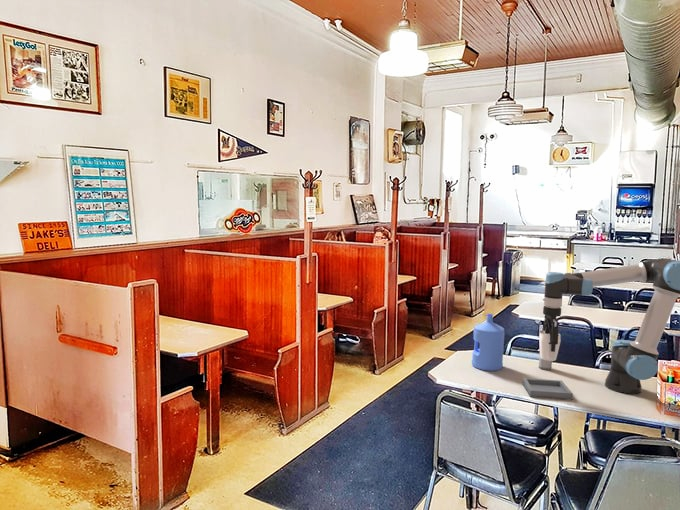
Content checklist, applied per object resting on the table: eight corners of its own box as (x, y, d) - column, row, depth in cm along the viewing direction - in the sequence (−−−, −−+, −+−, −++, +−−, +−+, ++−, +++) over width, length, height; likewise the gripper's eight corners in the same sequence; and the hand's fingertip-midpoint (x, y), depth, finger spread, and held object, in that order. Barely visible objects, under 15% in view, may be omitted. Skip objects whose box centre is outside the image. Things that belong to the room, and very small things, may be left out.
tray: (561, 386, 239) (561, 380, 239) (572, 399, 224) (572, 393, 223) (522, 383, 242) (522, 377, 241) (530, 396, 226) (530, 390, 226)
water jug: (505, 365, 269) (509, 313, 265) (497, 373, 255) (501, 319, 252) (476, 359, 277) (479, 309, 274) (467, 367, 264) (470, 315, 260)
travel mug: (536, 366, 268) (538, 329, 266) (548, 366, 268) (551, 329, 266) (540, 370, 262) (543, 332, 260) (553, 370, 262) (556, 333, 260)
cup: (555, 356, 235) (557, 331, 234) (561, 362, 226) (563, 336, 225) (535, 355, 236) (537, 330, 234) (541, 361, 227) (543, 335, 225)
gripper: (537, 301, 239) (534, 347, 242) (550, 311, 218) (546, 361, 221) (554, 302, 238) (550, 348, 241) (568, 312, 217) (564, 362, 220)
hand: (548, 354), depth 231 cm, fingers closed on cup, 9 cm apart
